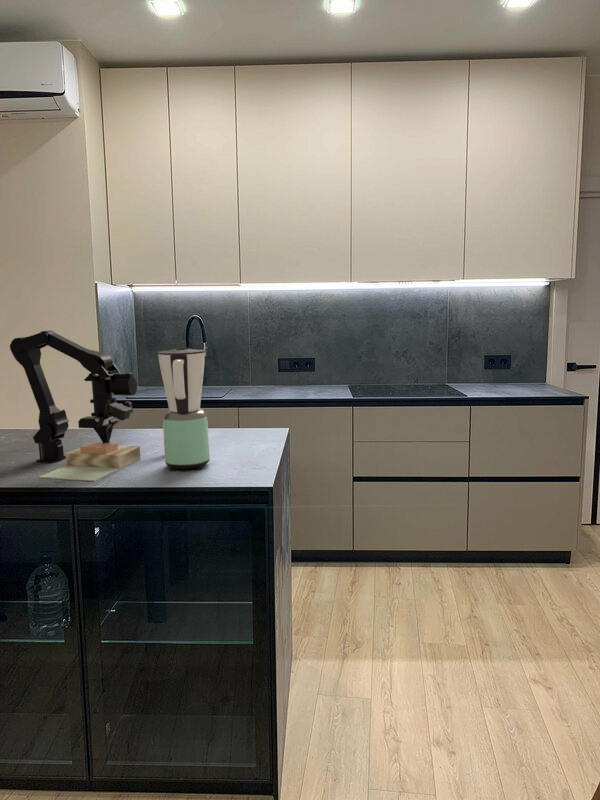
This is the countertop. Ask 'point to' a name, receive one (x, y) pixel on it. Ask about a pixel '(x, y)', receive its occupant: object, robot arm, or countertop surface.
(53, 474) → the mat
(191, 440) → the mint green blender
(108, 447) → the tile
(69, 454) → the tan wooden flat block
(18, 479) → the countertop surface
